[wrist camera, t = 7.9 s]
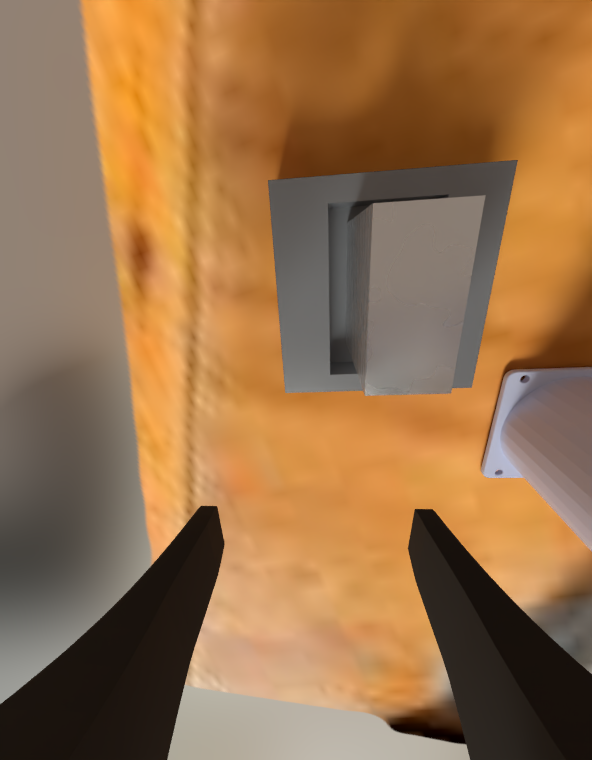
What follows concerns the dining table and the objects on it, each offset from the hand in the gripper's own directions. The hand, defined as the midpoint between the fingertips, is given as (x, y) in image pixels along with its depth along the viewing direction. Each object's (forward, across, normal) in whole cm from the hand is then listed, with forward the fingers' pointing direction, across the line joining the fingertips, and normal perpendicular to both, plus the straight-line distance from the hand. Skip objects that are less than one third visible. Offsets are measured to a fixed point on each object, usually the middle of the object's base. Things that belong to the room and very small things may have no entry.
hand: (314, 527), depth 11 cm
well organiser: (+9, -3, -7) cm, 12 cm away
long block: (+9, -3, -8) cm, 12 cm away
